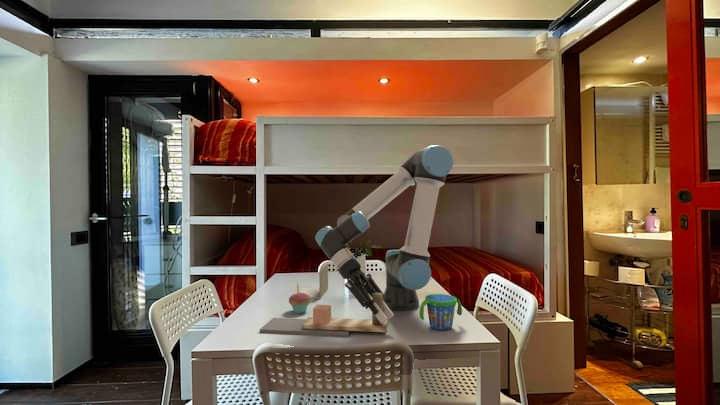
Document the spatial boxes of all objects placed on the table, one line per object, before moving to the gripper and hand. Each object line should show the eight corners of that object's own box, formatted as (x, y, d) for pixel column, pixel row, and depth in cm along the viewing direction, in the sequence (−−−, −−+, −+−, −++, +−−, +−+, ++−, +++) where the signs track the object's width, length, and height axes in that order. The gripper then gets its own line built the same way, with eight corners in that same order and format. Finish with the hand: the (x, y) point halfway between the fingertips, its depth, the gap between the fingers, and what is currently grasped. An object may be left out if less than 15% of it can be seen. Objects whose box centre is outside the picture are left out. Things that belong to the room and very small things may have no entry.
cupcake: (306, 315, 143) (305, 283, 142) (285, 314, 144) (284, 283, 144) (313, 308, 151) (313, 278, 151) (293, 307, 153) (293, 278, 152)
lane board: (354, 324, 132) (354, 321, 132) (347, 336, 120) (347, 333, 120) (273, 320, 137) (273, 317, 137) (259, 332, 125) (259, 329, 125)
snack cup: (454, 320, 135) (454, 292, 135) (469, 330, 125) (469, 300, 125) (413, 323, 132) (413, 295, 132) (425, 334, 121) (425, 303, 121)
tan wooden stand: (387, 323, 128) (387, 291, 128) (385, 332, 120) (385, 297, 120) (308, 320, 133) (308, 288, 132) (301, 328, 125) (301, 294, 124)
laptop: (303, 289, 184) (302, 262, 183) (328, 289, 182) (328, 263, 182) (292, 299, 166) (292, 270, 165) (320, 300, 164) (320, 270, 164)
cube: (331, 319, 130) (331, 305, 130) (327, 324, 125) (327, 309, 125) (317, 318, 130) (317, 304, 130) (313, 323, 126) (313, 308, 125)
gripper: (353, 267, 140) (393, 319, 131) (325, 275, 126) (367, 333, 117) (365, 254, 137) (406, 306, 128) (337, 260, 123) (381, 319, 114)
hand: (387, 319), depth 122 cm, fingers closed on tan wooden stand, 4 cm apart
